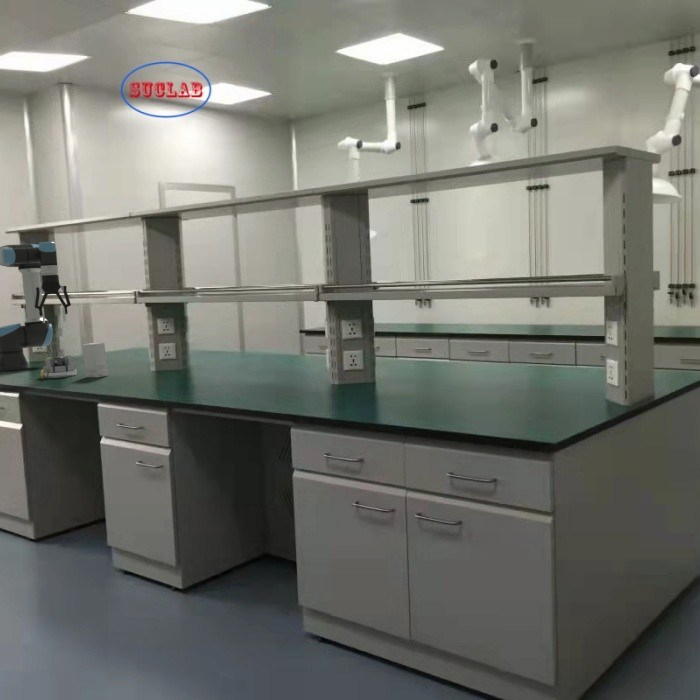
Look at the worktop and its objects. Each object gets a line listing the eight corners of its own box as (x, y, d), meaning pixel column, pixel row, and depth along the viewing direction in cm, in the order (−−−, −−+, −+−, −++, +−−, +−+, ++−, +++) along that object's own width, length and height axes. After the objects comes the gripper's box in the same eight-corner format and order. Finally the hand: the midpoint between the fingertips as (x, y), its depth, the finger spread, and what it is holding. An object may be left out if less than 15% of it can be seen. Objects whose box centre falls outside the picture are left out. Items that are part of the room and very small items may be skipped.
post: (41, 378, 355) (40, 370, 354) (44, 378, 356) (44, 369, 355) (41, 379, 353) (40, 370, 353) (45, 378, 354) (44, 370, 354)
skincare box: (108, 375, 353) (105, 342, 351) (96, 378, 347) (93, 344, 346) (96, 375, 358) (93, 342, 356) (84, 377, 352) (81, 343, 350)
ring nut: (37, 372, 357) (36, 359, 357) (58, 367, 370) (57, 355, 370) (60, 372, 352) (59, 359, 352) (81, 367, 365) (80, 355, 365)
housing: (43, 375, 366) (41, 357, 365) (76, 372, 371) (74, 354, 370) (44, 379, 352) (42, 360, 351) (78, 376, 358) (76, 357, 357)
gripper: (26, 275, 353) (31, 324, 356) (74, 273, 363) (79, 320, 366) (24, 275, 360) (29, 323, 362) (72, 273, 370) (76, 320, 372)
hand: (54, 322), depth 364 cm, fingers open, 9 cm apart
